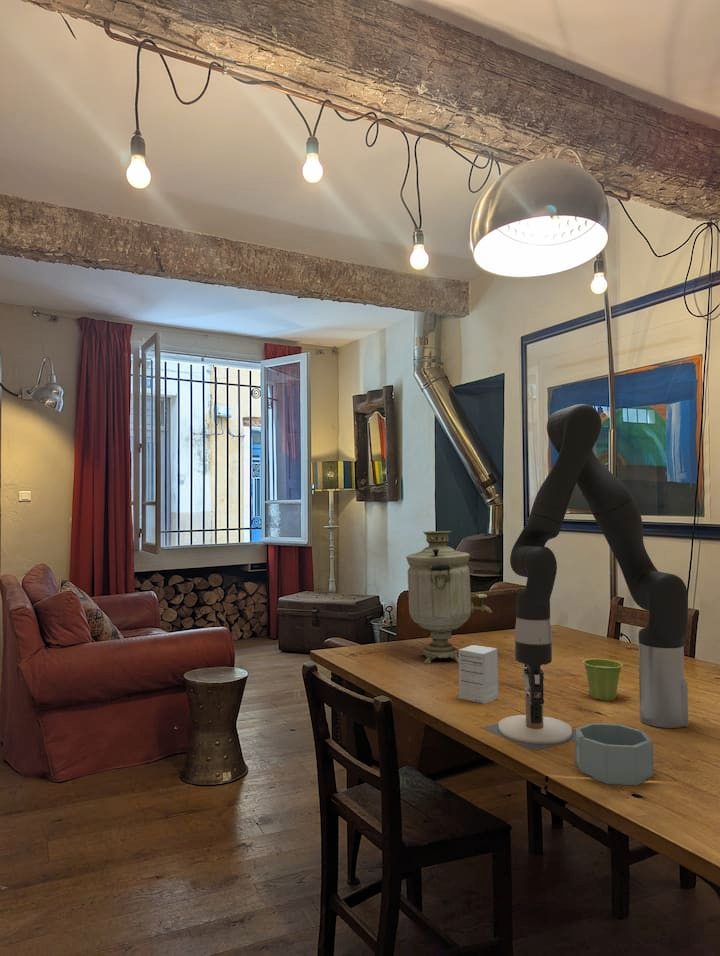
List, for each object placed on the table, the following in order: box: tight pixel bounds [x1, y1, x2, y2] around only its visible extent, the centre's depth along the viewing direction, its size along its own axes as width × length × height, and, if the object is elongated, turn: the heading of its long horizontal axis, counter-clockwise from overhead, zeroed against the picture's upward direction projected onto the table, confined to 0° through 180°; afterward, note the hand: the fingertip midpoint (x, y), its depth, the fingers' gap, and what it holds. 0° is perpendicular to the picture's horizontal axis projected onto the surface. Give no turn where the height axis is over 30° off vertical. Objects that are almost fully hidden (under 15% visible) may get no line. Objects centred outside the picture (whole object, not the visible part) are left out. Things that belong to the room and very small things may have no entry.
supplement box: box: [458, 644, 499, 705], centre depth 169 cm, size 7×7×13 cm
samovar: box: [405, 530, 493, 664], centre depth 212 cm, size 30×26×40 cm
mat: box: [480, 723, 575, 752], centre depth 143 cm, size 16×16×1 cm
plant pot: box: [582, 658, 624, 702], centre depth 170 cm, size 9×9×9 cm
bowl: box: [574, 722, 654, 787], centre depth 124 cm, size 13×13×6 cm
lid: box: [498, 694, 573, 744], centre depth 143 cm, size 15×15×7 cm
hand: (533, 716), depth 143 cm, fingers open, 8 cm apart
